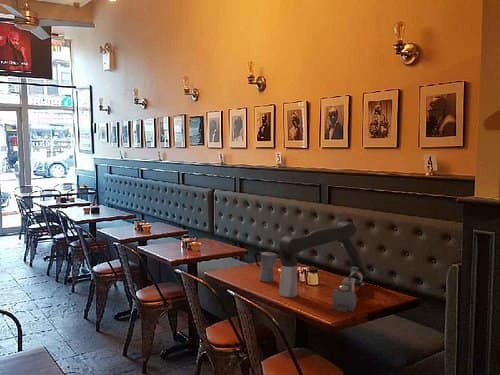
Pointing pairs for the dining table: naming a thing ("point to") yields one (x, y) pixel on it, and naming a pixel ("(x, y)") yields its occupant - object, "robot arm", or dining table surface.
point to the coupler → (344, 299)
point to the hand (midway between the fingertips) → (350, 286)
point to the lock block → (349, 283)
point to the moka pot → (266, 265)
